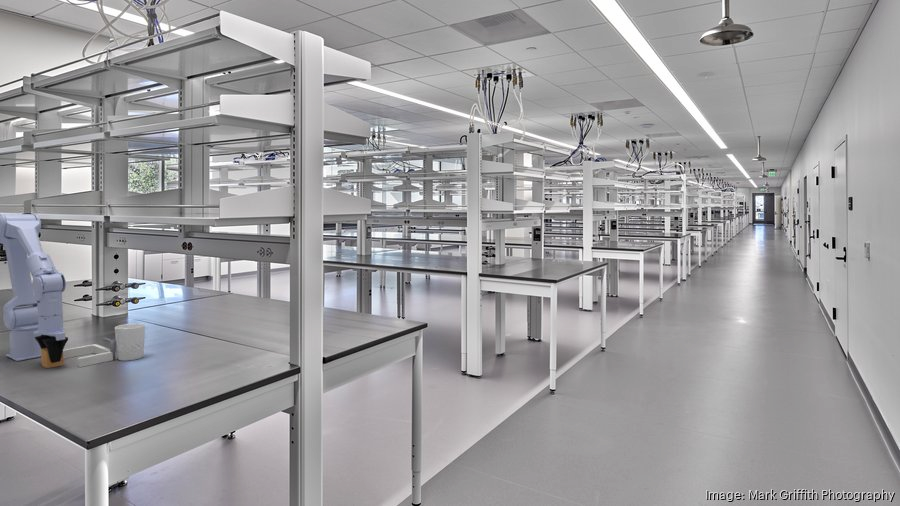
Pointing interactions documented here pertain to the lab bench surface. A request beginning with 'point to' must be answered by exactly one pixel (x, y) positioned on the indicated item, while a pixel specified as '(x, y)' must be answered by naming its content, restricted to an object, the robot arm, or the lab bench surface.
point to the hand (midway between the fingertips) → (52, 360)
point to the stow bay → (101, 352)
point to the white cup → (130, 341)
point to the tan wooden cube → (46, 360)
